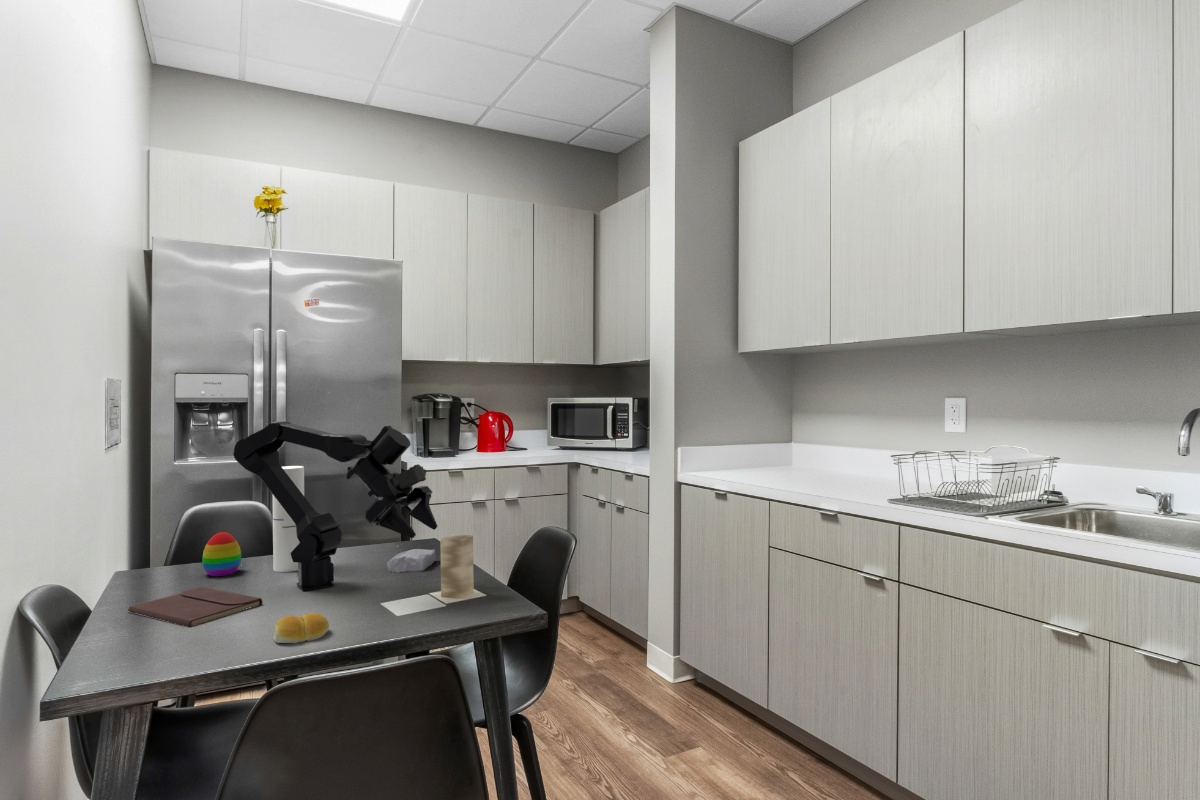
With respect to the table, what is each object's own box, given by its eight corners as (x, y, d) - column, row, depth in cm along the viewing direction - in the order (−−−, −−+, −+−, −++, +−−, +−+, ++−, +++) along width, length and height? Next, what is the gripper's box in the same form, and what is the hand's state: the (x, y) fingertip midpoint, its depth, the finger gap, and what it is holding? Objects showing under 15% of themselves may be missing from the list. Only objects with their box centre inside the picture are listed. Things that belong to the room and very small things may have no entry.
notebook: (188, 629, 123) (188, 618, 123) (128, 615, 132) (127, 605, 132) (262, 606, 136) (262, 597, 136) (203, 594, 145) (202, 585, 145)
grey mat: (397, 617, 127) (397, 616, 127) (380, 604, 135) (380, 603, 135) (446, 607, 133) (446, 605, 133) (427, 595, 141) (427, 594, 141)
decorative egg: (220, 568, 166) (220, 528, 166) (249, 570, 165) (248, 529, 165) (194, 577, 158) (193, 535, 158) (224, 578, 157) (223, 536, 157)
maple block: (441, 597, 139) (440, 539, 139) (452, 590, 144) (451, 534, 144) (463, 598, 138) (462, 540, 138) (473, 591, 143) (473, 535, 143)
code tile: (446, 605, 134) (446, 603, 134) (428, 594, 142) (428, 593, 142) (486, 596, 140) (486, 595, 140) (468, 587, 147) (468, 585, 147)
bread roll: (333, 638, 117) (332, 615, 117) (276, 649, 112) (276, 625, 112) (323, 625, 124) (323, 603, 124) (270, 634, 119) (269, 612, 119)
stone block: (385, 581, 160) (426, 572, 160) (381, 561, 161) (422, 552, 160) (401, 570, 172) (439, 562, 172) (397, 551, 172) (435, 543, 172)
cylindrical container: (284, 564, 170) (283, 465, 170) (311, 565, 169) (309, 466, 169) (267, 571, 163) (265, 468, 163) (294, 572, 162) (293, 469, 162)
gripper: (377, 457, 135) (427, 513, 132) (423, 450, 153) (468, 499, 150) (343, 495, 137) (392, 551, 134) (393, 484, 155) (437, 533, 152)
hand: (425, 532), depth 143 cm, fingers open, 9 cm apart
